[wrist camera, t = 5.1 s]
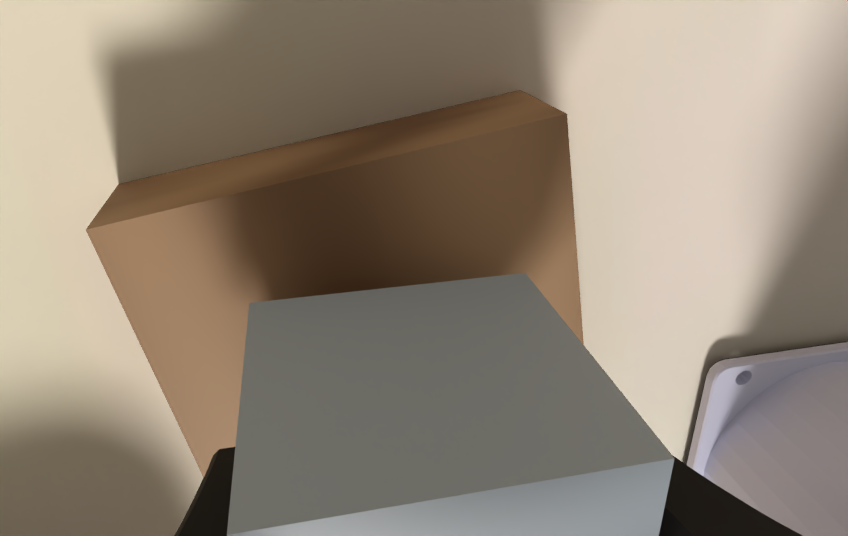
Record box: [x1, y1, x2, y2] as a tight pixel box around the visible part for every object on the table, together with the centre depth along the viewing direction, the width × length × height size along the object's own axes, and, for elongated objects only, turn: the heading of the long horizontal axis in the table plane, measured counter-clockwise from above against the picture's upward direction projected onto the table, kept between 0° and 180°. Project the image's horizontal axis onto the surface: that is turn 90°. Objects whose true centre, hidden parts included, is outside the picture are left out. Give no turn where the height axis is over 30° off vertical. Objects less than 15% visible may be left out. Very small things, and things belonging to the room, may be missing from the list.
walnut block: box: [86, 90, 583, 477], centre depth 15 cm, size 9×9×3 cm
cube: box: [227, 273, 675, 536], centre depth 10 cm, size 5×5×5 cm
